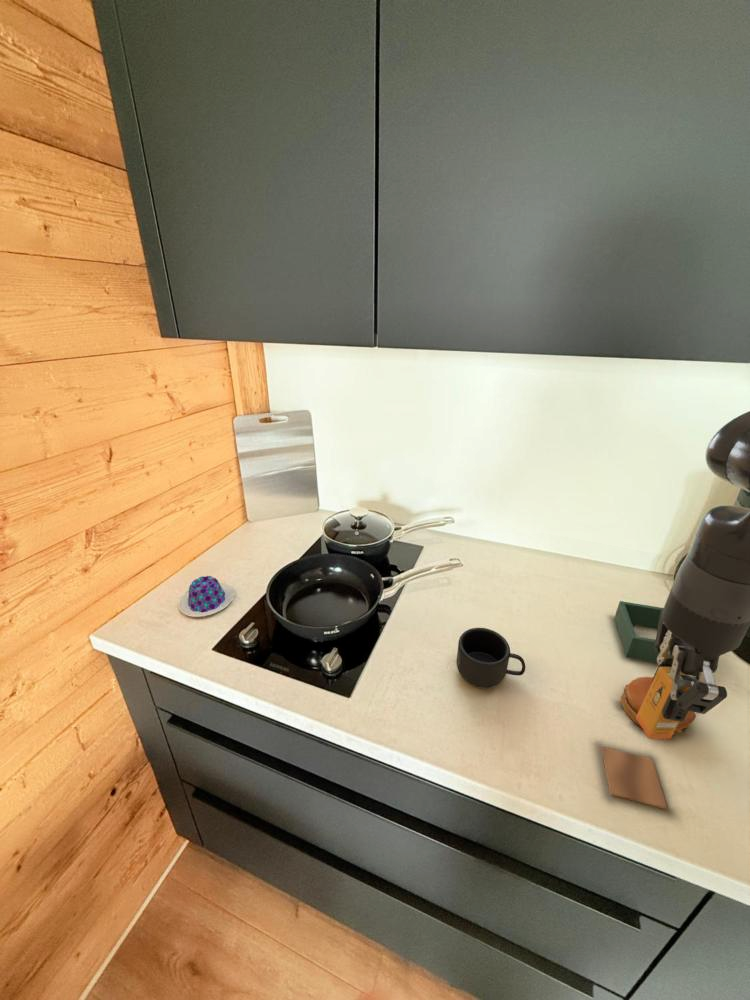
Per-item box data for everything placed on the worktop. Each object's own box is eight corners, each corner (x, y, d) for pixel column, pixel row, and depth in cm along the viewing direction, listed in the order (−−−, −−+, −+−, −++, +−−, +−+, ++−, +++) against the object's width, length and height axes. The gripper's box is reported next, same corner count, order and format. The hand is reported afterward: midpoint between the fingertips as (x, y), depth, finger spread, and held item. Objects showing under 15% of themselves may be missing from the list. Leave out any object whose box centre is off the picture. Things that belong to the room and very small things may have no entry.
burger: (616, 717, 70) (624, 698, 68) (625, 680, 77) (633, 662, 75) (687, 752, 65) (698, 732, 63) (690, 709, 72) (700, 690, 70)
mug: (451, 685, 76) (454, 657, 73) (459, 649, 84) (462, 622, 80) (521, 704, 73) (527, 675, 69) (522, 665, 80) (528, 637, 77)
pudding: (205, 580, 104) (200, 562, 102) (245, 591, 100) (242, 573, 98) (167, 611, 94) (161, 592, 92) (210, 625, 90) (205, 606, 88)
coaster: (651, 760, 64) (652, 758, 64) (666, 809, 58) (667, 808, 58) (601, 748, 66) (601, 746, 65) (610, 794, 60) (611, 793, 59)
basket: (682, 630, 88) (690, 612, 86) (703, 672, 79) (712, 652, 76) (613, 619, 91) (619, 600, 89) (625, 657, 82) (632, 638, 79)
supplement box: (674, 740, 55) (700, 688, 51) (647, 739, 55) (671, 687, 51) (659, 716, 58) (682, 665, 54) (634, 716, 58) (655, 665, 54)
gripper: (789, 652, 40) (723, 763, 48) (723, 566, 52) (679, 666, 60) (698, 636, 42) (648, 746, 49) (655, 557, 54) (621, 655, 62)
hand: (665, 702), depth 55 cm, fingers closed on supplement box, 4 cm apart
